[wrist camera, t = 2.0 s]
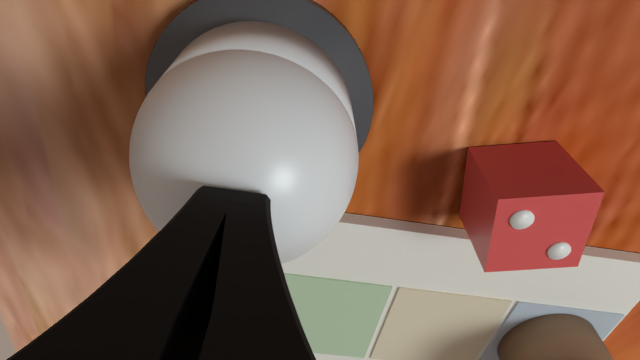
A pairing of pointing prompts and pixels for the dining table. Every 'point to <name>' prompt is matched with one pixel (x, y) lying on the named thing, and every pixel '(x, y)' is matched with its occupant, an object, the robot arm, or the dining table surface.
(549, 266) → the red die
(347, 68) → the dome base
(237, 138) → the dome
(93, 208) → the dining table surface
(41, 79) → the dining table surface
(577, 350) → the pawn
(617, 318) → the game board
